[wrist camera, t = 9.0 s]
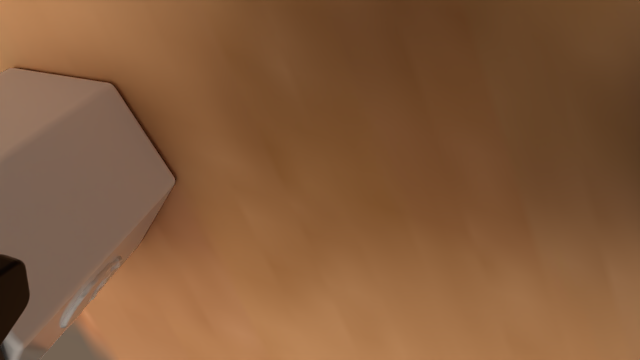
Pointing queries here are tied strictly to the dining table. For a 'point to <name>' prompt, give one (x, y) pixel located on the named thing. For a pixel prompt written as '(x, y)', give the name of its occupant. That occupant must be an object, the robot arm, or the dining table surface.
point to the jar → (70, 196)
